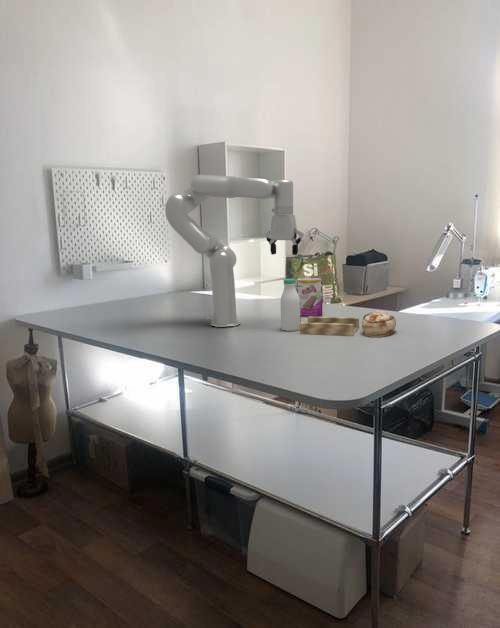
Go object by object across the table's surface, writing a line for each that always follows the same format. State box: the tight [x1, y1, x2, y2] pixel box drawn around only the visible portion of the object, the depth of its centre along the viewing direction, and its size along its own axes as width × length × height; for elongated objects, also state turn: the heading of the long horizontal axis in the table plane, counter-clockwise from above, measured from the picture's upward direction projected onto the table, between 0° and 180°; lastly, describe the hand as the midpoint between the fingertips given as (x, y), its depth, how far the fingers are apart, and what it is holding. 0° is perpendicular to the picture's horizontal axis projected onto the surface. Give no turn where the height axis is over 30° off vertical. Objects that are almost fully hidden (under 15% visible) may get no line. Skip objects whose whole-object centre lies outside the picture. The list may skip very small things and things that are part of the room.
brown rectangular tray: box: [299, 316, 360, 337], centre depth 205 cm, size 20×14×4 cm
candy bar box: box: [296, 278, 323, 317], centre depth 236 cm, size 11×5×16 cm, turn 84°
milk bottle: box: [280, 278, 302, 332], centre depth 210 cm, size 8×8×20 cm
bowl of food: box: [361, 310, 397, 338], centre depth 198 cm, size 13×15×8 cm
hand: (284, 254), depth 217 cm, fingers open, 9 cm apart
